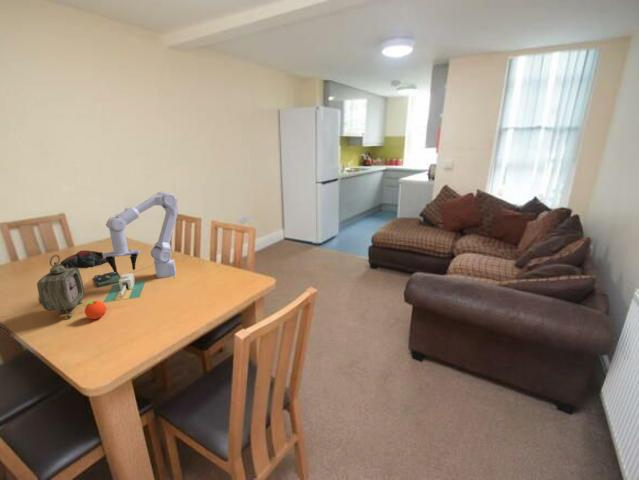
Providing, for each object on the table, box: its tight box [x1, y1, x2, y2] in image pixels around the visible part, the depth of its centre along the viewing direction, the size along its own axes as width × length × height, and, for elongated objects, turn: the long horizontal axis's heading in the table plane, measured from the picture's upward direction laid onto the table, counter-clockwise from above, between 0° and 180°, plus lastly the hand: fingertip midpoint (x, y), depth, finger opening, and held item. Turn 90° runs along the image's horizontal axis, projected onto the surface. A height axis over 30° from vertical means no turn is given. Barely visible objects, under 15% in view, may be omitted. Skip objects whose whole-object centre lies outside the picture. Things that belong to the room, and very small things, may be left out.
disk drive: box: [93, 270, 121, 288], centre depth 157 cm, size 10×3×15 cm
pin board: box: [102, 280, 146, 304], centre depth 145 cm, size 14×19×4 cm
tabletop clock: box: [36, 254, 85, 319], centre depth 125 cm, size 14×9×25 cm, turn 17°
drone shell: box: [60, 250, 108, 269], centre depth 180 cm, size 21×20×8 cm
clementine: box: [81, 300, 107, 320], centre depth 123 cm, size 8×7×7 cm
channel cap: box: [118, 272, 136, 290], centre depth 149 cm, size 5×8×5 cm, turn 21°
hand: (124, 270), depth 147 cm, fingers open, 7 cm apart
